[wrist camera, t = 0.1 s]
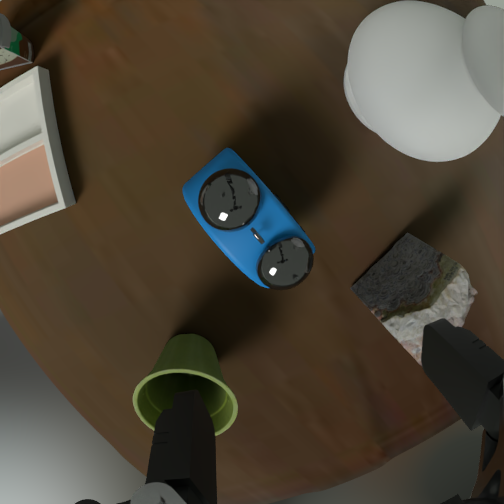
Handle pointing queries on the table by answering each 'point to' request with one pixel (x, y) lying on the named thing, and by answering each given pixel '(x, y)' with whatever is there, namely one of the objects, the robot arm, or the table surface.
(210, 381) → the plant pot
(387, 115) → the decorative vase
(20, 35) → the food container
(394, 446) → the table surface
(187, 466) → the robot arm
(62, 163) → the tray
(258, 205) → the alarm clock
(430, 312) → the geological specimen
